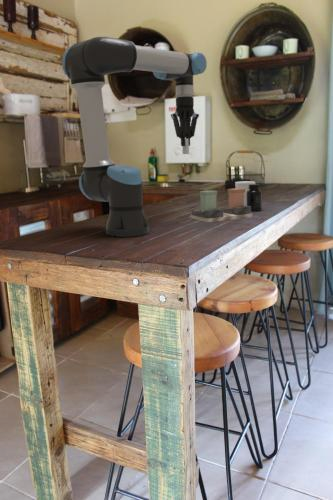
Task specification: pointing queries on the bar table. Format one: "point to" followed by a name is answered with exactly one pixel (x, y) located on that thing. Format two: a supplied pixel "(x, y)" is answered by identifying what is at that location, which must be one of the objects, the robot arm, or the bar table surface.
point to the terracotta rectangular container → (236, 197)
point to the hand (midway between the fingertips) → (185, 153)
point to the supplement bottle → (254, 197)
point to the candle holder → (244, 186)
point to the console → (222, 214)
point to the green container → (208, 200)
